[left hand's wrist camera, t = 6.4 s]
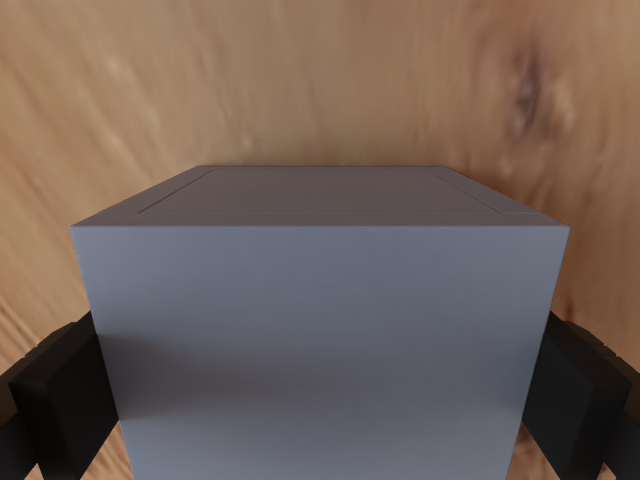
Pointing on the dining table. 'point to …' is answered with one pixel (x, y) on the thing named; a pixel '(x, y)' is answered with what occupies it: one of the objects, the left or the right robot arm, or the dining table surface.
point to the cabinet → (320, 321)
